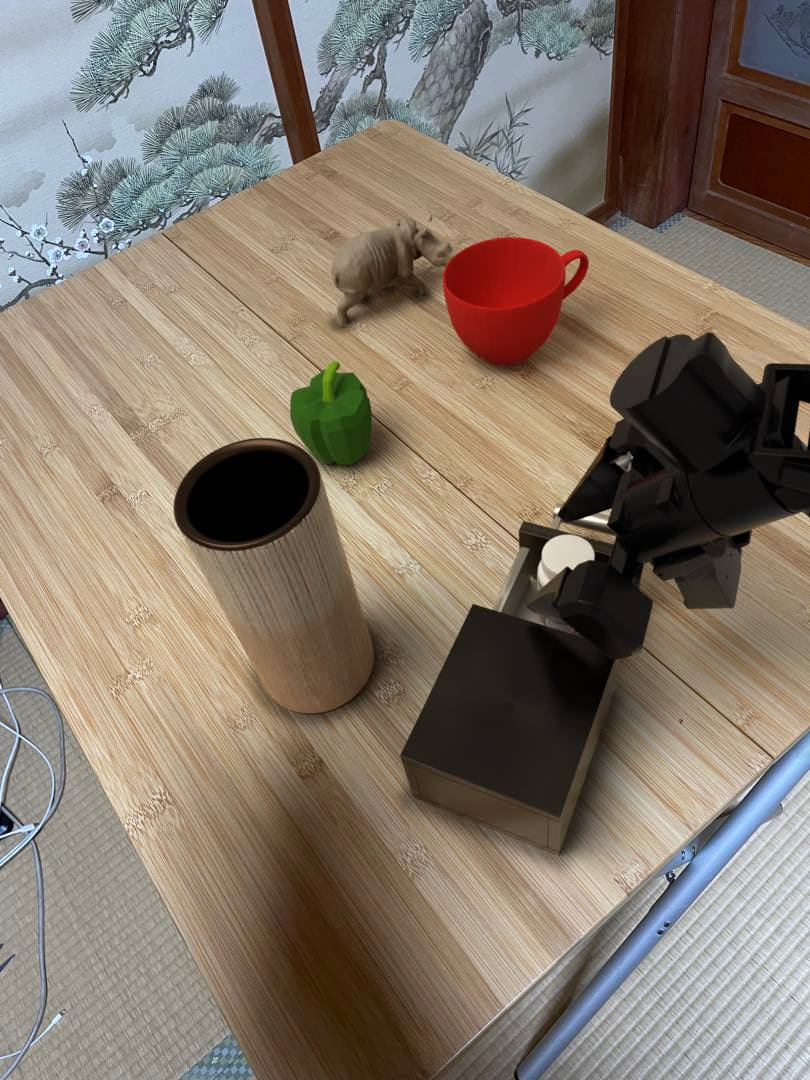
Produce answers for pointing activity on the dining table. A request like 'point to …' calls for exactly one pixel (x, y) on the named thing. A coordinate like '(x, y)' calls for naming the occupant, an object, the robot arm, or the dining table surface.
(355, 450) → the bell pepper
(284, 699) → the planter
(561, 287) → the ceramic cup
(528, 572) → the drawer
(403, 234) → the rhinoceros figurine
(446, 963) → the dining table surface
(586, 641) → the drawer cabinet
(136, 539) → the dining table surface
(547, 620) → the pill bottle
